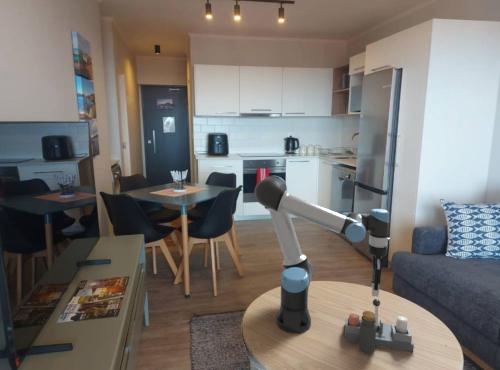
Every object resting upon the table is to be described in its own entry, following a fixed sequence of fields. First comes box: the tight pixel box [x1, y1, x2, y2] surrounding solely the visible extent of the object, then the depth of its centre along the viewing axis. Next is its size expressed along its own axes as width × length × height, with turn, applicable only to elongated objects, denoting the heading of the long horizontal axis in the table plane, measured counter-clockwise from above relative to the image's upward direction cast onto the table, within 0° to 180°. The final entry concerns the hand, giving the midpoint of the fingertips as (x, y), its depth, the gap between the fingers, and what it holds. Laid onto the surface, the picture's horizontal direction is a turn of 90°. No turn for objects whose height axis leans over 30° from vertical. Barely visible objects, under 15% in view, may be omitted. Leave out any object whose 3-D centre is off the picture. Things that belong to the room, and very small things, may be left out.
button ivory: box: [395, 315, 409, 334], centre depth 131 cm, size 4×4×5 cm
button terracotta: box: [348, 313, 360, 327], centre depth 136 cm, size 4×4×5 cm
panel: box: [344, 317, 415, 352], centre depth 136 cm, size 25×12×7 cm, turn 75°
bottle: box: [358, 310, 376, 355], centre depth 128 cm, size 6×6×15 cm
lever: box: [372, 298, 381, 330], centre depth 138 cm, size 3×3×12 cm
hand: (375, 295), depth 147 cm, fingers closed
